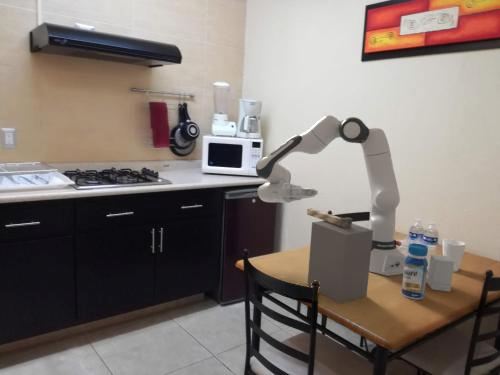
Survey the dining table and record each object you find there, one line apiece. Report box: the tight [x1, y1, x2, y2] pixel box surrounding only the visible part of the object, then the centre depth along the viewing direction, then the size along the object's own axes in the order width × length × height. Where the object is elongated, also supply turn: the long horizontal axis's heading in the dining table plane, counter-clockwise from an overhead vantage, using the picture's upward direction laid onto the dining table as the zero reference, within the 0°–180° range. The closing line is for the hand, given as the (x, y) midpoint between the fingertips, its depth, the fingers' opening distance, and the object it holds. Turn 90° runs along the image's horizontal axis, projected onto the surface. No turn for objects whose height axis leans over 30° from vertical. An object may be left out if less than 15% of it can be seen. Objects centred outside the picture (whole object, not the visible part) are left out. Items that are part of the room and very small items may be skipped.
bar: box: [306, 208, 353, 228], centre depth 155 cm, size 22×4×3 cm, turn 32°
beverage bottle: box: [400, 243, 429, 300], centre depth 150 cm, size 8×8×20 cm
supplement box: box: [426, 254, 454, 292], centre depth 160 cm, size 7×7×13 cm
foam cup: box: [441, 238, 467, 273], centre depth 181 cm, size 10×9×13 cm
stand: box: [307, 220, 373, 305], centre depth 151 cm, size 18×14×26 cm
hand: (309, 192), depth 166 cm, fingers open, 8 cm apart
